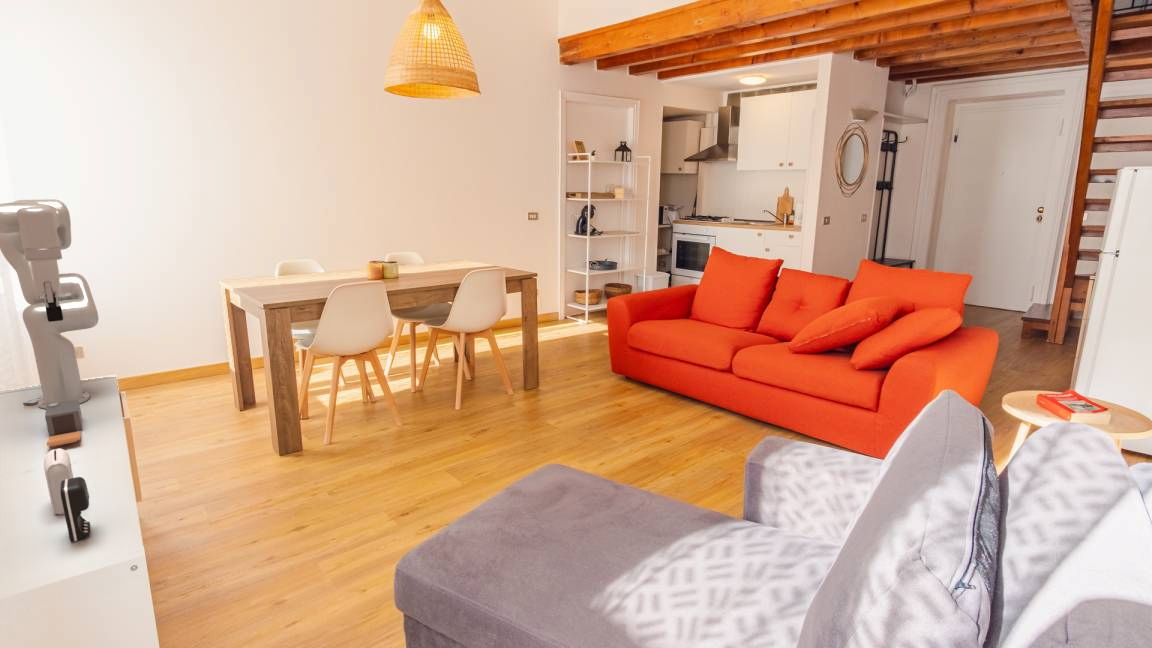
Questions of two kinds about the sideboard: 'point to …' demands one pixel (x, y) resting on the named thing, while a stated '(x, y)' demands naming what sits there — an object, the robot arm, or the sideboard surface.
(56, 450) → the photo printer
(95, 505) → the sideboard surface
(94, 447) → the sideboard surface
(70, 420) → the camera housing
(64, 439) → the side door
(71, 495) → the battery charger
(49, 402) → the robot arm
